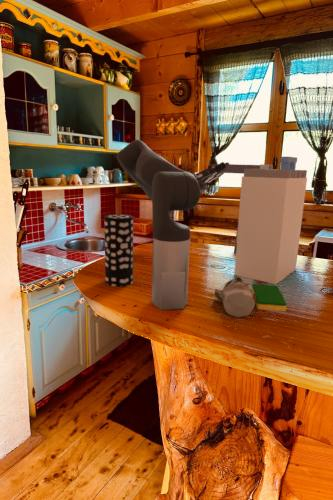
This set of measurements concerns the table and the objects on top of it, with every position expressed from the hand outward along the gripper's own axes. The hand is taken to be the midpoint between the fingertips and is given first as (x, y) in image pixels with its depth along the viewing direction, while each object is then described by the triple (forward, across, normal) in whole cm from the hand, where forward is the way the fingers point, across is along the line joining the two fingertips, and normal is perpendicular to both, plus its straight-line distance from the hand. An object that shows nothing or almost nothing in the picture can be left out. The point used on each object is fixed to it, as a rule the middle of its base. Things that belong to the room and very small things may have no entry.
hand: (226, 164), depth 123 cm
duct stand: (0, -5, +41) cm, 41 cm away
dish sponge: (+8, -29, +47) cm, 55 cm away
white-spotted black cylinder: (-27, -45, +26) cm, 59 cm away
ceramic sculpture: (+5, -40, +44) cm, 60 cm away
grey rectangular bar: (+3, 0, +5) cm, 6 cm away
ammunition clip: (-14, +16, +33) cm, 39 cm away
